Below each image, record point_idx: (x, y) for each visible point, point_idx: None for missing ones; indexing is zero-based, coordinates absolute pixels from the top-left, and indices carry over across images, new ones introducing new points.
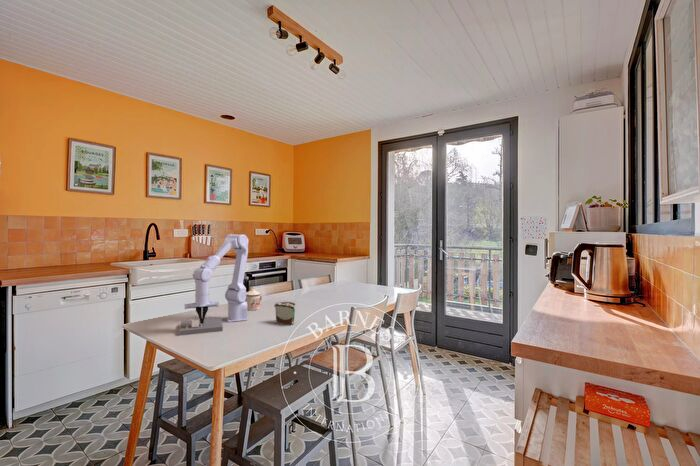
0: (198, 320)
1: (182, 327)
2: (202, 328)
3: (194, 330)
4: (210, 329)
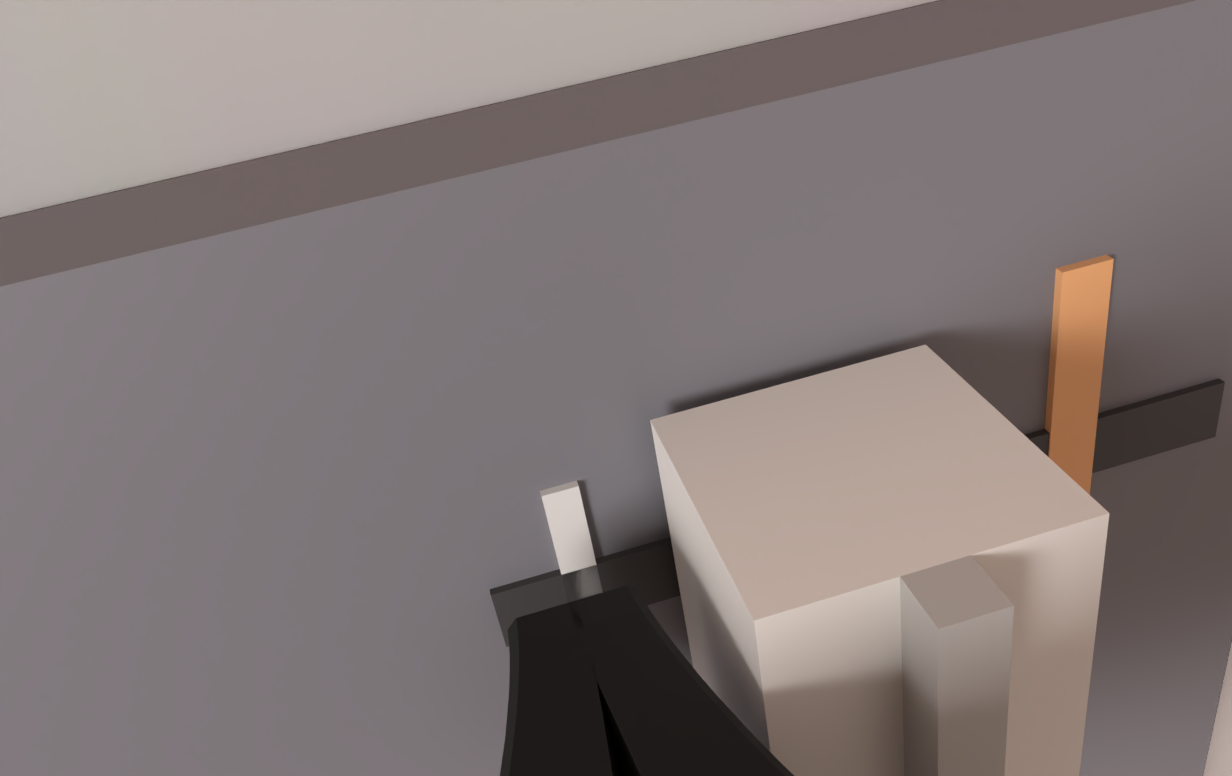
0: (771, 600)
1: (1213, 385)
2: (442, 228)
3: (766, 86)
4: (57, 249)
